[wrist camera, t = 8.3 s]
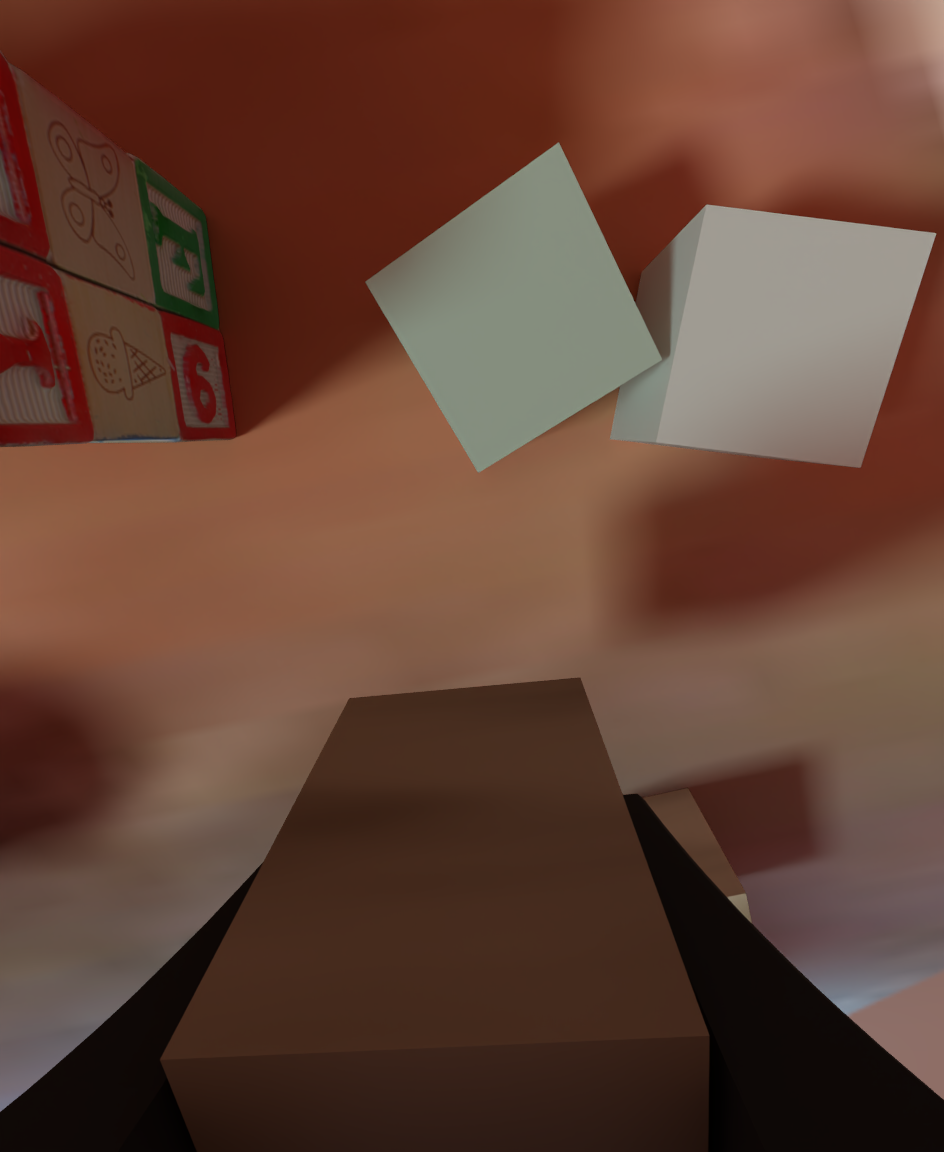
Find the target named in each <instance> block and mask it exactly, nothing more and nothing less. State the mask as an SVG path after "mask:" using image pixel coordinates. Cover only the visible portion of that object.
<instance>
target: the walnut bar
mask: <svg viewBox="0 0 944 1152" xmlns="http://www.w3.org/2000/svg"><path fill="white" fill-rule="evenodd" d="M160 1061H161V1064H162V1066H163V1069H164V1071H165V1074H166V1076H167V1079H168V1081H169V1084H170V1086H171V1089H172V1091H173V1094H174V1096H175V1099H176V1101H177V1104H178V1106H179V1109H180V1111H181V1114H182V1116H183V1119H184V1121H185V1124H186V1126H187V1128H188V1131H189V1133H190V1136H191V1138H192V1141H193V1143H194V1146H195V1148H196V1151H197V1152H708V1132H709V1033H708V1030H707V1027H706V1025H705V1022H704V1019H703V1016H702V1014H701V1011H700V1008H699V1005H698V1003H697V1000H696V997H695V994H694V991H693V989H692V986H691V983H690V980H689V978H688V975H687V972H686V969H685V967H684V964H683V961H682V958H681V955H680V953H679V950H678V947H677V944H676V942H675V939H674V936H673V933H672V930H671V928H670V925H669V922H668V919H667V917H666V914H665V911H664V908H663V906H662V903H661V900H660V897H659V894H658V892H657V889H656V886H655V883H654V881H653V878H652V875H651V872H650V870H649V867H648V864H647V861H646V858H645V856H644V853H643V850H642V847H641V845H640V842H639V839H638V836H637V833H636V831H635V828H634V825H633V822H632V820H631V817H630V814H629V811H628V809H627V806H626V803H625V800H624V797H623V795H622V792H621V789H620V786H619V784H618V781H617V778H616V775H615V773H614V770H613V767H612V764H611V761H610V759H609V756H608V753H607V750H606V748H605V745H604V742H603V739H602V736H601V734H600V731H599V728H598V725H597V723H596V720H595V717H594V714H593V712H592V709H591V706H590V703H589V700H588V698H587V695H586V692H585V689H584V687H583V684H582V681H581V678H570V679H559V680H548V681H537V682H525V683H514V684H503V685H492V686H481V687H470V688H459V689H448V690H437V691H425V692H414V693H403V694H392V695H381V696H370V697H359V698H349V700H348V702H347V704H346V706H345V708H344V710H343V711H342V713H341V715H340V717H339V719H338V721H337V723H336V725H335V727H334V729H333V731H332V732H331V734H330V736H329V738H328V740H327V742H326V744H325V746H324V748H323V750H322V752H321V753H320V755H319V757H318V759H317V761H316V763H315V765H314V767H313V769H312V771H311V773H310V774H309V776H308V778H307V780H306V782H305V784H304V786H303V788H302V790H301V792H300V794H299V795H298V797H297V799H296V801H295V803H294V805H293V807H292V809H291V811H290V813H289V814H288V816H287V818H286V820H285V822H284V824H283V826H282V828H281V830H280V832H279V834H278V835H277V837H276V839H275V841H274V843H273V845H272V847H271V849H270V851H269V853H268V855H267V856H266V858H265V860H264V862H263V864H262V866H261V868H260V870H259V872H258V874H257V876H256V877H255V879H254V881H253V883H252V885H251V887H250V889H249V891H248V893H247V895H246V897H245V898H244V900H243V902H242V904H241V906H240V908H239V910H238V912H237V914H236V916H235V918H234V919H233V921H232V923H231V925H230V927H229V929H228V931H227V933H226V935H225V937H224V938H223V940H222V942H221V944H220V946H219V948H218V950H217V952H216V954H215V956H214V958H213V959H212V961H211V963H210V965H209V967H208V969H207V971H206V973H205V975H204V977H203V979H202V980H201V982H200V984H199V986H198V988H197V990H196V992H195V994H194V996H193V998H192V1000H191V1001H190V1003H189V1005H188V1007H187V1009H186V1011H185V1013H184V1015H183V1017H182V1019H181V1021H180V1022H179V1024H178V1026H177V1028H176V1030H175V1032H174V1034H173V1036H172V1038H171V1040H170V1042H169V1043H168V1045H167V1047H166V1049H165V1051H164V1053H163V1055H162V1057H161V1059H160Z"/></svg>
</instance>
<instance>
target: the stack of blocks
mask: <svg viewBox="0 0 944 1152" xmlns="http://www.w3.org/2000/svg"><path fill="white" fill-rule="evenodd" d="M235 437H236V427H235V420H234V413H233V404H232V396H231V391H230V382H229V375H228V368H227V361H226V355H225V348H224V341H223V337H222V335H221V333H220V330H219V316H218V306H217V299H216V291H215V284H214V277H213V269H212V261H211V253H210V246H209V238H208V230H207V223H206V216H205V214H204V212H203V210H202V209H201V208H199V207H198V206H197V205H196V204H195V203H193V202H192V201H191V200H190V199H188V198H187V197H186V196H185V195H184V194H182V193H181V192H180V191H179V190H178V189H177V188H175V187H174V186H173V185H172V184H171V183H169V182H168V181H167V180H166V179H165V178H163V177H162V176H161V175H160V174H158V173H157V172H156V171H154V170H153V169H152V168H150V167H149V166H148V165H147V164H145V163H144V162H143V161H142V160H141V159H140V158H138V157H136V156H134V155H132V154H130V153H125V152H124V151H123V150H122V149H121V148H120V147H119V146H118V145H116V144H115V143H114V142H113V141H111V140H110V139H109V138H108V137H106V136H105V135H104V134H103V133H102V132H100V131H99V130H98V129H97V128H95V127H94V126H93V125H92V124H90V123H89V122H88V121H86V120H85V119H84V118H83V117H81V116H80V115H79V114H78V113H76V112H75V111H74V110H73V109H71V108H70V107H69V106H68V105H67V104H65V103H64V102H63V101H62V100H61V99H59V98H58V97H57V96H56V95H54V94H53V93H51V92H50V91H49V90H47V89H46V88H44V87H43V86H42V85H41V84H39V83H38V82H37V81H35V80H34V79H33V78H32V77H30V76H29V75H28V74H26V73H25V72H24V71H22V70H21V69H19V68H17V67H15V66H14V65H12V64H10V63H8V61H7V59H6V58H5V56H4V55H3V53H2V52H1V51H0V447H16V446H41V445H61V444H82V443H148V442H188V441H212V440H231V439H234V438H235Z"/></svg>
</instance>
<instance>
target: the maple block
mask: <svg viewBox="0 0 944 1152" xmlns="http://www.w3.org/2000/svg"><path fill="white" fill-rule="evenodd" d="M643 799H644V800H645V801H646V802H647V804H648V805H649V806H650V808H651V809H652V810H653V811H654V813H655V814H656V815H657V817H658V818H659V819H660V820H661V822H662V823H663V824H664V825H665V827H666V828H667V829H668V830H669V832H670V833H671V834H672V835H673V836H674V838H675V839H676V840H677V841H678V842H679V844H680V845H681V846H682V847H683V848H684V849H685V851H686V852H687V853H688V854H689V855H690V857H691V858H692V859H693V860H694V861H695V862H696V863H697V865H698V866H699V867H700V868H701V869H702V870H703V871H704V873H705V874H706V875H707V876H708V877H709V878H710V879H711V880H712V881H713V882H714V884H715V885H716V886H717V887H718V888H719V889H720V890H721V891H722V892H723V893H724V894H725V896H726V897H727V898H728V899H729V900H730V901H731V902H732V903H733V904H734V905H735V906H736V908H737V909H738V910H739V911H740V912H741V913H742V914H743V915H744V916H745V917H746V918H747V919H748V920H749V921H750V922H751V917H750V912H749V907H748V902H747V897H746V893H745V891H744V889H743V887H742V885H741V884H740V882H739V880H738V878H737V876H736V875H735V873H734V871H733V869H732V867H731V865H730V864H729V862H728V860H727V858H726V856H725V855H724V853H723V851H722V849H721V847H720V845H719V844H718V842H717V840H716V838H715V836H714V834H713V833H712V831H711V829H710V827H709V825H708V824H707V822H706V820H705V818H704V816H703V814H702V813H701V811H700V809H699V807H698V805H697V804H696V802H695V800H694V798H693V796H692V794H691V793H690V791H689V789H688V788H685V789H680V790H676V791H671V792H667V793H662V794H658V795H653V796H649V797H644V798H643ZM751 923H752V922H751Z"/></svg>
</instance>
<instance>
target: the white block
mask: <svg viewBox="0 0 944 1152" xmlns="http://www.w3.org/2000/svg"><path fill="white" fill-rule="evenodd" d="M935 236H936V233H931V232H923V231H915V230H907V229H899V228H891V227H883V226H875V225H867V224H859V223H850V222H842V221H834V220H826V219H818V218H810V217H802V216H794V215H786V214H778V213H770V212H762V211H754V210H746V209H738V208H730V207H722V206H714V205H706V206H705V207H704V208H703V209H702V210H701V211H700V212H699V213H698V214H697V215H696V216H695V217H694V218H693V219H692V220H691V221H690V222H689V223H688V224H687V225H686V226H685V227H684V228H683V229H682V230H681V231H680V233H679V234H678V235H677V236H676V237H675V238H674V239H673V240H672V241H671V242H670V243H669V244H668V245H667V246H666V247H665V248H664V249H663V250H662V251H661V252H660V253H659V254H658V255H657V256H656V257H655V258H654V259H653V261H652V262H651V263H650V264H649V265H648V266H647V267H646V268H645V269H644V270H643V271H642V272H641V277H640V283H639V288H638V293H637V299H636V306H637V308H638V310H639V312H640V314H641V316H642V318H643V320H644V322H645V324H646V327H647V329H648V331H649V333H650V335H651V337H652V339H653V341H654V343H655V345H656V348H657V350H658V352H659V354H660V356H661V358H662V360H661V361H660V362H658V363H656V364H655V365H653V366H651V367H650V368H648V369H647V370H645V371H643V372H642V373H640V374H638V375H637V376H635V377H634V378H632V379H630V380H629V381H627V382H625V383H624V384H622V385H621V386H620V389H619V394H618V400H617V405H616V410H615V416H614V421H613V426H612V432H611V437H610V439H614V440H622V441H630V442H638V443H646V444H654V445H662V446H670V447H678V448H687V449H695V450H703V451H711V452H719V453H727V454H735V455H743V456H751V457H759V458H769V459H779V460H788V461H798V462H808V463H817V464H827V465H837V466H847V467H856V468H861V465H862V462H863V459H864V456H865V453H866V449H867V446H868V443H869V440H870V437H871V434H872V431H873V428H874V425H875V422H876V419H877V415H878V412H879V409H880V406H881V403H882V400H883V397H884V394H885V391H886V388H887V385H888V381H889V378H890V375H891V372H892V369H893V366H894V363H895V360H896V357H897V354H898V351H899V348H900V344H901V341H902V338H903V335H904V332H905V329H906V326H907V323H908V320H909V317H910V314H911V310H912V307H913V304H914V301H915V298H916V295H917V292H918V289H919V286H920V283H921V280H922V276H923V273H924V270H925V267H926V264H927V261H928V258H929V255H930V252H931V249H932V246H933V242H934V239H935Z"/></svg>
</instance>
